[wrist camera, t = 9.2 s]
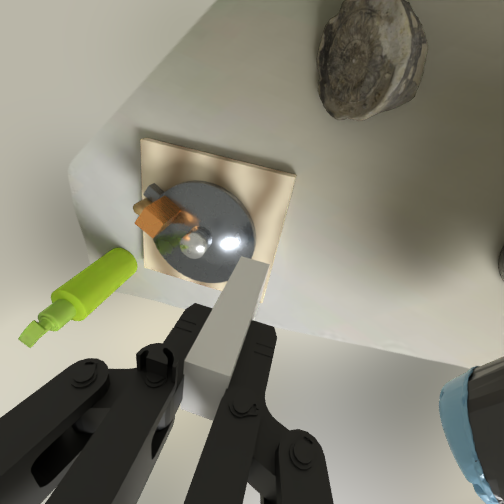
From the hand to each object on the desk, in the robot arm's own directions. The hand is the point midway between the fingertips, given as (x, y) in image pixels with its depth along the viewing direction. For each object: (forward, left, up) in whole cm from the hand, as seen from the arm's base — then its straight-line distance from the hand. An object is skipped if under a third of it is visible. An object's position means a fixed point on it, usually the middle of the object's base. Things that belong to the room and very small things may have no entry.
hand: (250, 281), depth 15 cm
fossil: (-4, -12, -27) cm, 30 cm away
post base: (+11, +12, -26) cm, 31 cm away
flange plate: (+12, +11, -24) cm, 29 cm away
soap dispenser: (+27, +24, -27) cm, 45 cm away
